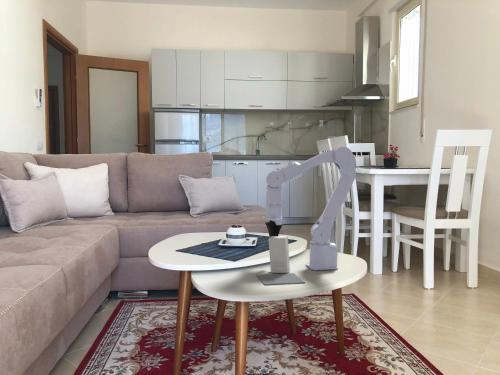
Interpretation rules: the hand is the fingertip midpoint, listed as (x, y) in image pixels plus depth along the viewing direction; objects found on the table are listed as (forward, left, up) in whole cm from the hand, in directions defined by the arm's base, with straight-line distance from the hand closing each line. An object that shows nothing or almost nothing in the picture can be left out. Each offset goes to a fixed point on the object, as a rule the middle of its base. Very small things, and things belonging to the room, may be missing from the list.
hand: (273, 242), depth 151 cm
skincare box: (0, +9, -9) cm, 12 cm away
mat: (+3, +17, -9) cm, 20 cm away
